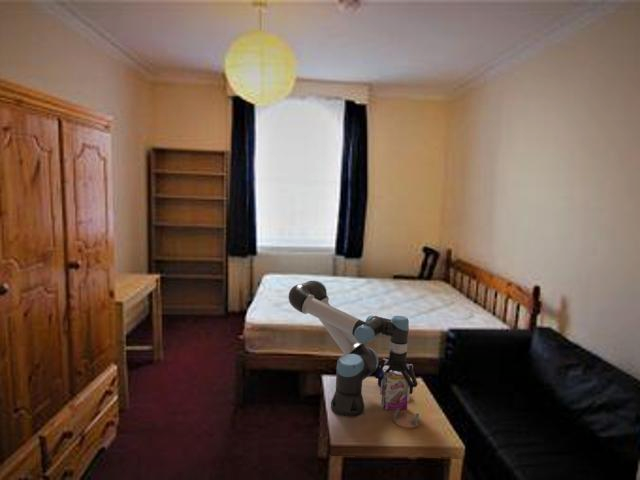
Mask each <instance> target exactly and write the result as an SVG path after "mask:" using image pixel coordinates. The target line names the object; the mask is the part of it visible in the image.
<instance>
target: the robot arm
mask: <svg viewBox="0 0 640 480" xmlns="http://www.w3.org/2000/svg"><path fill="white" fill-rule="evenodd" d="M327 294H328V293H327V287H326V286H325V285H324V284H323V282H321V281H318V280H307V281H305V282H303V283H299V284H296V285H293V287H292V288H291V289H290V290H289V292H288V302H289V304H290V305H291V306H292V308H293V309H295V311H296V310H297V311H298V312H299V313H302V314H304V315H307V314H309V315H311V316H313V317H314V318H317V319H318V320H319V321H320V323H321V324H322V326H323V327H324V328H325V330H326V331H327V332H328V334H329V335H330V336H331V338H332V339H333V340H334V341H335V343H336V344H337V346H338V347H339V348H340V349H341V351H342V353H343V355H341V356H340V357H339V358H338V359H337V362H336V363H337V364H336V368H335V369H336V377H335V378H336V379H335V391H334V392H333V396H332V398H331V401H330V410H331V411H332V412H333V413H335V415H338V416H341V417H345V418H354V417H355V418H356V417H359V416H361V415H363V414H364V412H365V407H366V406H365V405H366V404H365V401H364V398H363V393H362V391H363V390H362V389H363V381H364V380H365V379H367V378H368V377H369V376H370V375H372V374H374V373H375V371H376V370H377V369H378V370H377V372H376V374H375V376H374V378H375V379H377V380H378V379H379V385H378V387H379V388H380V387H381V388H380V392H379V395H380V396H382V387H383V377H384V373H383V374H382V375H381V376H380V373H381V371H382V369H383V367H384V366H386V365H387V364H388V366H390V367H389V368H388V369H387V370H386V371H385V372H387V373H388V372H389V371H391V369H392V370H393V371H397V372H401V373H402V374H403V376H404V378H405V379H406V381H407V383H408V385H409V386H408V393H407V401H408V402H409V401H410V400H411V395H412V394H413V393H414V388H417V386H418V384H419V383H418V381H417V377H416V374H415V371H414V364H413V363H410V364H409V363H407V354H408V353H407V352H408V339H409V329H410V327H409V324H410V323H409V321H410V320H409V319H408V317H406V316H403V315H394V316H392V318H385V317H381V316H378V315H368V316H367V318H366V319H365V321H364V320H361V319H359V318H357V317H355V316H354V315H352V314H349V313H347V312H345V311H343V310H341V309H338V308H336V307H334V306H332V305H331V304H330V303H329V300H330V299H329V296H328V295H327ZM380 335H382V336H386V337H390V343H389V355H388V357H389V358H388V359H387V358H385V357H383V358H382V359H381V364H380V365H379V357H378V353H377V352H376V351H375V350H374V349H373V348H372V347H371V348H370V347H366V345H365V344H368V343H370V342H371V343H372V341H373V340H375V338H377V337H379V336H380ZM379 366H380V368H379ZM406 368H407V370H409V373H408V372H407V370H406ZM407 373H408V374H409V375H408V374H407ZM408 376H410V378H409V377H408Z"/></svg>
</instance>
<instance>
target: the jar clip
mask: <svg viewBox="0 0 640 480" xmlns="http://www.w3.org/2000/svg"><path fill="white" fill-rule="evenodd" d="M419 419H420V413H418V412H417V413H416V414H415V416H414V415H413V414H409V413H404V412H402V413H400V410H399V409H398V408H397V409H396V410H394V413H393V419H392V420H393V421H394V423H395V424H396V425H397V426H399V427H401V428H403V429H413V428H416V427H417V426H418V425H419Z"/></svg>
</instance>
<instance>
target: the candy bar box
mask: <svg viewBox="0 0 640 480" xmlns="http://www.w3.org/2000/svg"><path fill="white" fill-rule="evenodd" d="M407 374H408V375H409V376H408V377H409V378H410V379H411V375H410V373H408V372H407ZM408 386H409V385H408V383H407V381H406V379H405V378H404V376H403V374H402V373H401V372H388V373H387V372H384V377H383V387H382V395H381V399H380V401H381V402H380V407H382V410H383V411H396V409H397V408H398V409H399V411H407V410H408V401H407V393H408Z"/></svg>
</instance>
